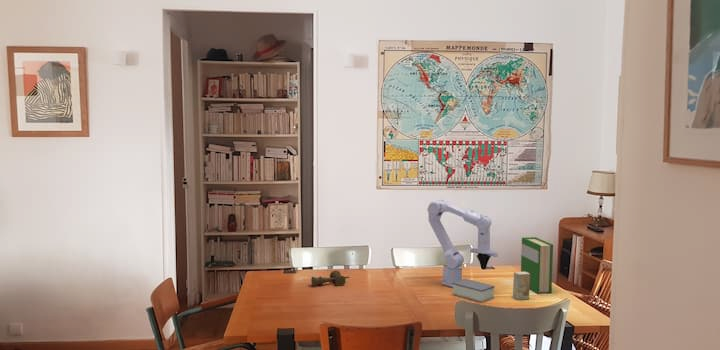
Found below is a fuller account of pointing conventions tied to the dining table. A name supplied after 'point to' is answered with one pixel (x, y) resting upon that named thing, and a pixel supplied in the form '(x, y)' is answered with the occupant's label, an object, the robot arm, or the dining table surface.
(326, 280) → the kendama
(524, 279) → the skincare box
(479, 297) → the box
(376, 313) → the dining table surface
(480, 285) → the lid
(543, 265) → the hardback book
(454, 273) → the robot arm
